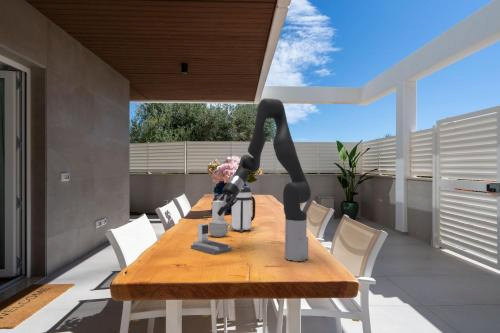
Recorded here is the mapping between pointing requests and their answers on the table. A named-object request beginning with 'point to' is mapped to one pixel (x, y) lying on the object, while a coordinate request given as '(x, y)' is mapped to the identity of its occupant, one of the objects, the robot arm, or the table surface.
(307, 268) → the table surface
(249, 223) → the coffee press
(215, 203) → the white stepped block
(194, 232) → the table surface
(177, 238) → the table surface
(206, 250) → the rail
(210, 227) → the teacup
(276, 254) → the table surface
